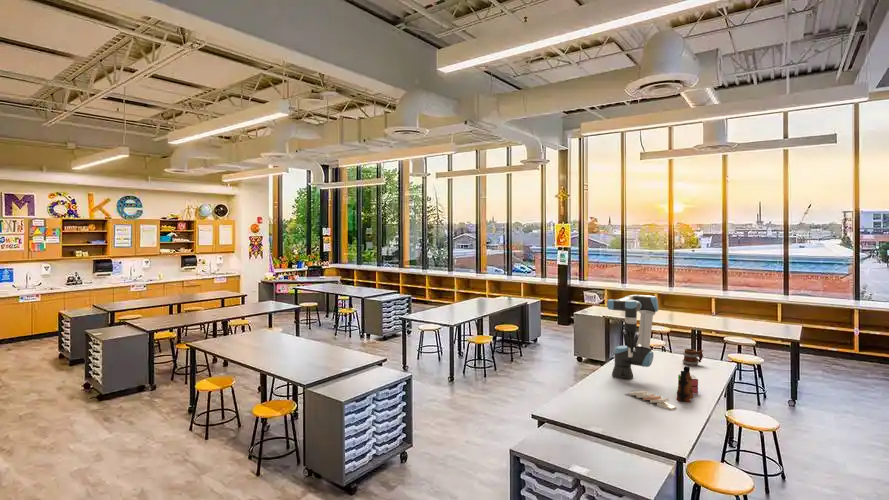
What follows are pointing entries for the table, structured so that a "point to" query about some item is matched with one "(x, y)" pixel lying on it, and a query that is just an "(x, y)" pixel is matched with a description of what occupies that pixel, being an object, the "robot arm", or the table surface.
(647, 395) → the domino
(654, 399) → the domino gap
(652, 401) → the domino
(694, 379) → the puzzle cube
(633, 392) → the domino
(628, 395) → the mat
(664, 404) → the domino
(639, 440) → the table surface
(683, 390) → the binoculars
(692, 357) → the mug
